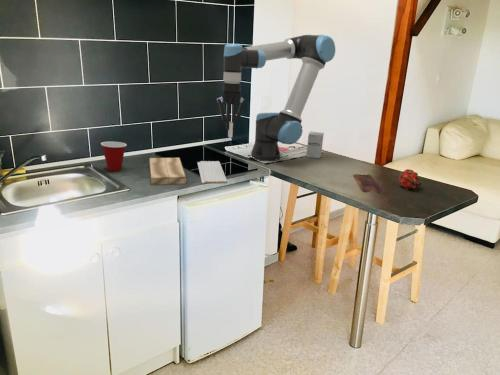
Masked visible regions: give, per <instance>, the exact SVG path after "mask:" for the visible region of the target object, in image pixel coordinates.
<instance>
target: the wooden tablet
mask: <svg viewBox="0 0 500 375" xmlns="http://www.w3.org/2000/svg"><path fill="white" fill-rule="evenodd" d="M353 179H354V180H355V182H356V183H357V185H358V186H359V189H360V188H361V189H360V190H361V191H362V192H363V193H367V192H370V193H374V192H376V193H375V194H381V193H384V194H386V193H387V192H386V190H385V189H384V187H382V185H381V184H380V183H379V182H378V181H377V180H376V179H375V177H373V176H372V175H371V174H368V175H364V174H363V175H361V174H353ZM371 191H373V192H371Z"/></svg>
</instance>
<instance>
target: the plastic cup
mask: <svg viewBox="0 0 500 375" xmlns="http://www.w3.org/2000/svg"><path fill="white" fill-rule="evenodd" d="M100 145H101V148H102V151H103V154H104V156H103V157H104V159H105V164H106V167H107V170H108V171H110V172H120V171H121V170H122V168H123V162H124V158H125V157H124V156H125V151H126V150H125V149H126V147H127V143H125V142H121V141H103V142H100Z"/></svg>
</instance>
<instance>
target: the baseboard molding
mask: <svg viewBox="0 0 500 375" xmlns="http://www.w3.org/2000/svg"><path fill="white" fill-rule="evenodd" d="M207 160H208V161H207ZM207 160H200V161H198V160H194V162H195V163H197V167H198V171H199V177H200V180H201V184H203V185H204V184H227V183H228V180H227V177H226V175H225V172H224V170H223V167H222V165H221V162H220V160H215V161H214V160H212V161H211V160H210V158H207Z"/></svg>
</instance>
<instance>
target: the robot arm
mask: <svg viewBox="0 0 500 375" xmlns="http://www.w3.org/2000/svg"><path fill="white" fill-rule="evenodd" d="M335 55H336V45H335V41H334V39H333V38H332V37H330V36H328V35H324V34H315V35H314V34H302V35H298V36H294V37H290V38H285V39H284V40H283V41H277V42H273V43H272V42H270V43H265V44H264V43H263V44H258V45H251V46H245V47H243V45H242V44H237V43H236V44H235V43H234V44H233V43H231V44H230V43H227V44H225V45H224V49H223V79H222V80H223V84H222V94H221V96H220V97H217V98H216V102H217V103H218V105H219V110H220V111H219V112H220V117H221V120H222V121H223V122H225V129H226V130H227V137H228V138H232V139H233V137H234V136H233V134H234V132H233V131H234V130H235V129H236V123H237V122H239V121H240V120H241V116H242V113H243V109H244V105H245V104H246V103H247V99H245V98H243V97H242V94H241V92H242V91H241V89H242V88H241V86H242V84H241V82H242V69H256V70H257V69H262V68H264V66H265V65H266V62H267V61H272V60H274V61H275V60H278V59H287V60H290V59H291V60H292V59H297V60H298V59H299V60H301V62H302V65H301V66H300V69H299V72H298V74H297V78H296V79H295V82H294V85H293V87H292V89H291V92H290V95H289V97H288V99H287V101H286V104H285V107H284V109H282V110H280V111H279V112H259V113H257V115H256V117H255V118H256V119H255V135H254V136H255V137H254V138H255V140H254V144H253V146H252V149H251V152H250V157H251V156H252V157H254V158H256V159H255V160H257V159H259V160H258V161H264V160H267V161H269V162H270V160H273V161H277V160H276V159H278V160H279V158H280V159H281V152H280V148H279V144H278V143H281V144H283V145H293V144H295V143H297V142H298V141H299V140H300V138H301V137H302V134H303V125H302V122H303V120H302V118H301V117H302V114H303V111H304V108H305V106H306V103H307V101H308V99H309V96H310V94H311V91H312V89H313V87H314V86H315V82H316V80H317V77H318V75H319V73H320V71H321V70H323V69H324V68H325V66H326V63H328V62H330V61H332V60H333V59H334V58H335ZM223 102H225V105H226V107H225V110H224V105H223ZM238 103H239V106H238V108H237V104H238ZM252 157H251V158H252ZM254 158H253V159H254Z"/></svg>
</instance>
